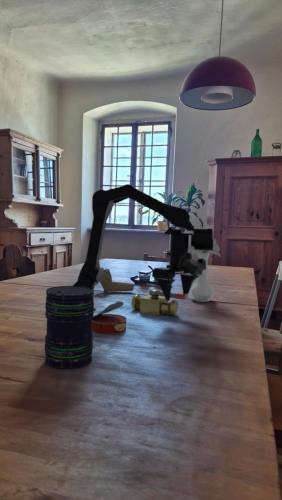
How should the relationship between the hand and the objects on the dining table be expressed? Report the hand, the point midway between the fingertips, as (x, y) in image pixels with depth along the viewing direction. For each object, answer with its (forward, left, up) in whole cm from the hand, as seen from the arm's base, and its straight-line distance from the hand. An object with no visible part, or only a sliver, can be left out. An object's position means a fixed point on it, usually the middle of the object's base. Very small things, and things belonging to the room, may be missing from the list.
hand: (177, 298), depth 107 cm
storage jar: (-45, +5, -6) cm, 46 cm away
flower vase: (+31, +3, -6) cm, 32 cm away
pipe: (+22, +38, -7) cm, 44 cm away
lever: (+2, +4, 0) cm, 5 cm away
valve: (+2, +9, -6) cm, 11 cm away
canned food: (-22, +11, -7) cm, 25 cm away
